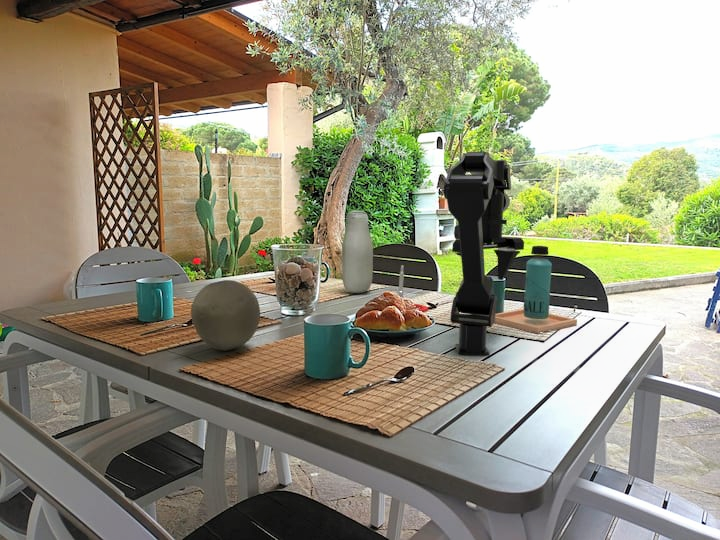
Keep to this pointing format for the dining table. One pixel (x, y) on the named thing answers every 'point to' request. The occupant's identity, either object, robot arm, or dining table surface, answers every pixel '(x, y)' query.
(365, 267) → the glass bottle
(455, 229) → the robot arm
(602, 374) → the dining table surface
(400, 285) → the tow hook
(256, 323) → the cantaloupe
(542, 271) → the beverage bottle
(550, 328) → the tray
